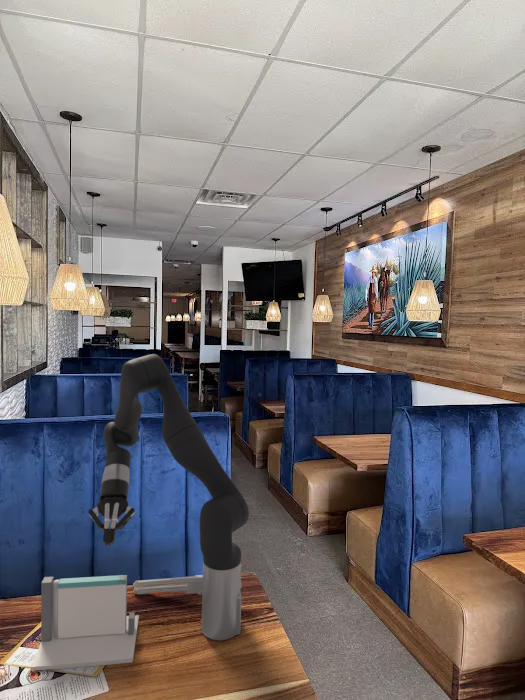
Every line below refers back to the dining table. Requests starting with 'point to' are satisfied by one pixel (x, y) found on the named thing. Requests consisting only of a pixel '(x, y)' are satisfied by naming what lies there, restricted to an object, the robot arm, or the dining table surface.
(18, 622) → the dining table surface
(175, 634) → the dining table surface
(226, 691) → the dining table surface
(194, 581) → the grey flat strip
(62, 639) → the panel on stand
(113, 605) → the gate panel
